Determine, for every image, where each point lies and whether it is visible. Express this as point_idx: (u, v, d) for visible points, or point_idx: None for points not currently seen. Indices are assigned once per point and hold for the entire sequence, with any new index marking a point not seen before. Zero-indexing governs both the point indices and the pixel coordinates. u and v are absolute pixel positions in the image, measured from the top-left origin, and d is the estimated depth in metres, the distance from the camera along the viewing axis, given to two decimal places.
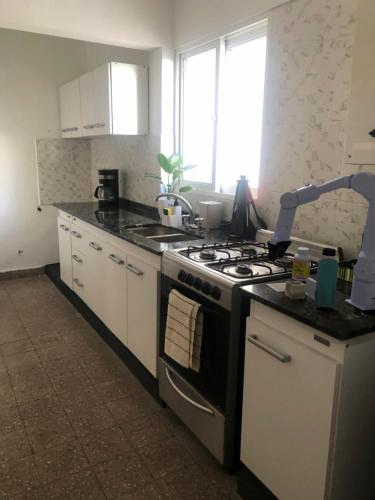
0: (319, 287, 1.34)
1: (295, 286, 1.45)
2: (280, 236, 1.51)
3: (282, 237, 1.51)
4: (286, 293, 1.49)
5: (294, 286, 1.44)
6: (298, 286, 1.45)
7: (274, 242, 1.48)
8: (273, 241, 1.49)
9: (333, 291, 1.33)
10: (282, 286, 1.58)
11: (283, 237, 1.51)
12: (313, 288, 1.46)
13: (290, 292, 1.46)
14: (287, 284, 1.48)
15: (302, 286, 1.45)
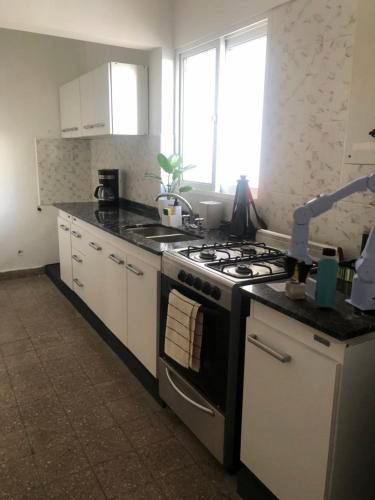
0: (319, 287, 1.34)
1: (295, 286, 1.45)
2: (304, 253, 1.42)
3: (305, 254, 1.43)
4: (286, 293, 1.49)
5: (294, 286, 1.44)
6: (298, 286, 1.45)
7: (310, 262, 1.39)
8: (309, 261, 1.38)
9: (333, 291, 1.33)
10: (282, 286, 1.58)
11: (306, 254, 1.43)
12: (313, 288, 1.46)
13: (290, 292, 1.46)
14: (287, 284, 1.48)
15: (302, 286, 1.45)
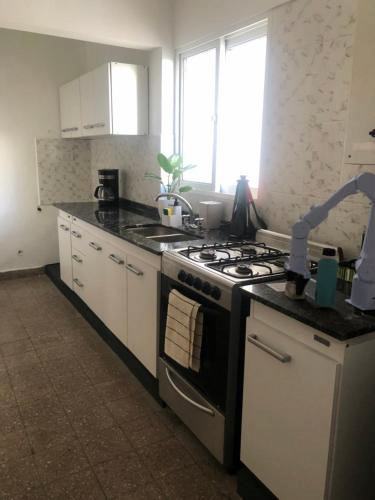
0: (319, 287, 1.34)
1: (295, 286, 1.45)
2: (303, 267, 1.43)
3: (304, 268, 1.44)
4: (286, 293, 1.49)
5: (294, 286, 1.44)
6: None
7: (309, 276, 1.40)
8: (308, 275, 1.39)
9: (333, 291, 1.33)
10: (282, 286, 1.58)
11: (305, 268, 1.44)
12: (313, 288, 1.46)
13: (290, 292, 1.46)
14: (287, 284, 1.48)
15: None
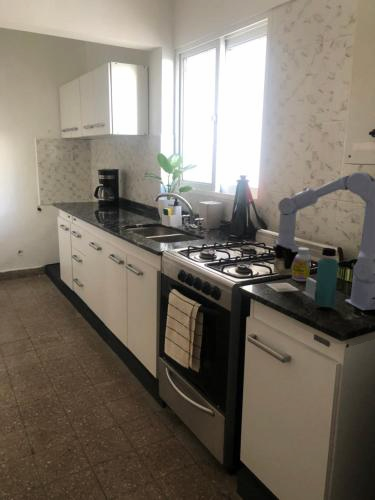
0: (319, 287, 1.34)
1: (283, 262, 1.53)
2: (291, 242, 1.52)
3: (292, 243, 1.52)
4: (275, 270, 1.57)
5: (282, 262, 1.53)
6: None
7: (297, 249, 1.48)
8: (296, 249, 1.48)
9: (333, 291, 1.33)
10: (282, 286, 1.58)
11: (293, 242, 1.52)
12: (313, 288, 1.46)
13: (278, 268, 1.54)
14: (275, 261, 1.56)
15: None
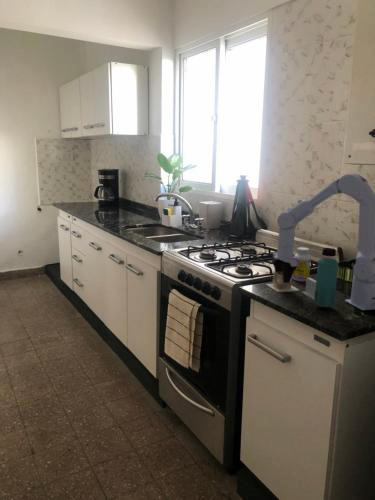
0: (319, 287, 1.34)
1: (282, 276, 1.54)
2: (290, 256, 1.53)
3: (291, 257, 1.53)
4: (274, 283, 1.58)
5: (281, 276, 1.54)
6: None
7: (295, 264, 1.49)
8: (294, 263, 1.49)
9: (333, 291, 1.33)
10: None
11: (292, 257, 1.53)
12: (313, 288, 1.46)
13: (277, 282, 1.55)
14: (274, 275, 1.57)
15: None
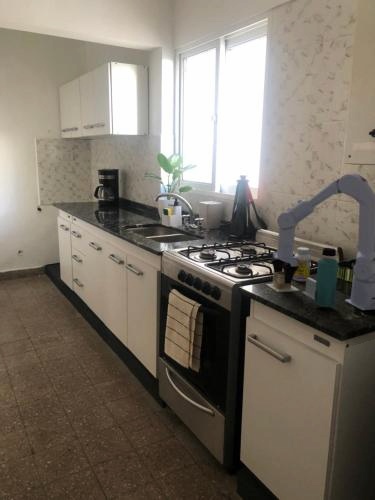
0: (319, 287, 1.34)
1: (282, 276, 1.54)
2: (290, 256, 1.53)
3: (291, 257, 1.53)
4: (274, 283, 1.58)
5: (281, 276, 1.54)
6: None
7: (295, 264, 1.49)
8: (294, 263, 1.49)
9: (333, 291, 1.33)
10: None
11: (292, 257, 1.53)
12: (313, 288, 1.46)
13: (277, 282, 1.55)
14: (274, 275, 1.57)
15: None
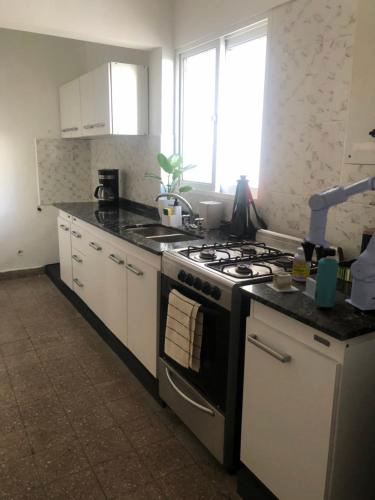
0: (319, 287, 1.34)
1: (282, 276, 1.54)
2: (322, 239, 1.50)
3: (323, 239, 1.51)
4: (274, 283, 1.58)
5: (281, 276, 1.54)
6: (285, 276, 1.54)
7: (329, 246, 1.46)
8: (328, 246, 1.46)
9: (333, 291, 1.33)
10: None
11: (324, 239, 1.51)
12: (313, 288, 1.46)
13: (277, 282, 1.55)
14: (274, 275, 1.57)
15: (288, 276, 1.55)
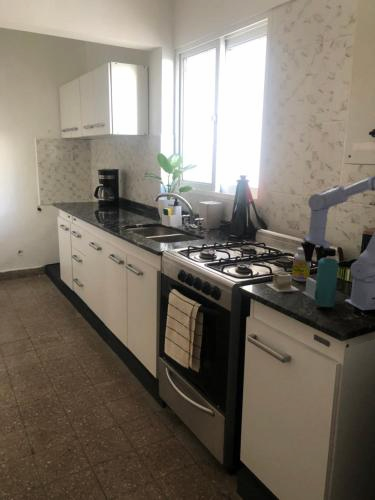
0: (319, 287, 1.34)
1: (282, 276, 1.54)
2: (322, 239, 1.50)
3: (323, 239, 1.51)
4: (274, 283, 1.58)
5: (281, 276, 1.54)
6: (285, 276, 1.54)
7: (329, 246, 1.46)
8: (328, 246, 1.46)
9: (333, 291, 1.33)
10: None
11: (324, 239, 1.51)
12: (313, 288, 1.46)
13: (277, 282, 1.55)
14: (274, 275, 1.57)
15: (288, 276, 1.55)
